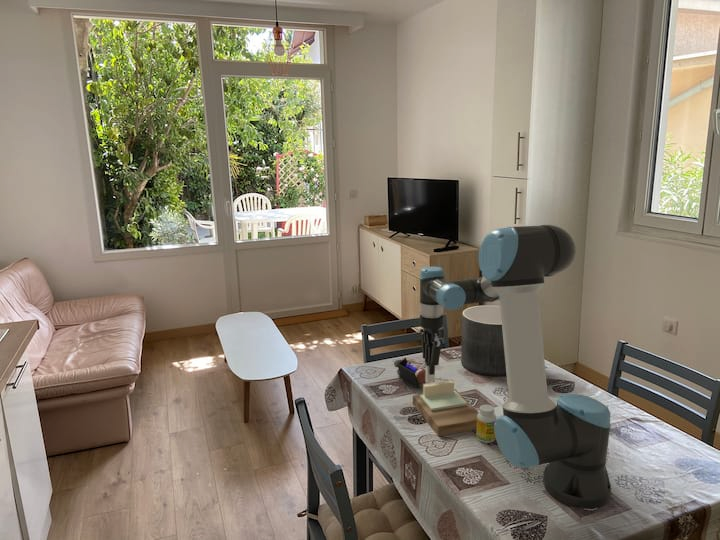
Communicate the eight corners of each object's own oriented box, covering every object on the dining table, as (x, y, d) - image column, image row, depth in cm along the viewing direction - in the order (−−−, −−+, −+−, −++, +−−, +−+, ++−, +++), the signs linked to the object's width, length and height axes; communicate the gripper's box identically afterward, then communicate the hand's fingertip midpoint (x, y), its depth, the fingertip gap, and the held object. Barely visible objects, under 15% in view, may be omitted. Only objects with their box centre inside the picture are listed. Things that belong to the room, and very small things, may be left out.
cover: (467, 405, 159) (467, 392, 158) (431, 411, 156) (431, 398, 155) (454, 392, 167) (454, 380, 166) (420, 397, 164) (420, 385, 163)
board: (484, 427, 152) (485, 418, 151) (438, 436, 148) (438, 426, 147) (454, 397, 171) (455, 388, 170) (412, 403, 167) (412, 395, 166)
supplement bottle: (485, 431, 150) (486, 401, 148) (499, 439, 146) (501, 408, 144) (472, 436, 147) (473, 406, 145) (486, 445, 143) (487, 414, 141)
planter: (510, 382, 181) (513, 328, 176) (451, 368, 193) (453, 317, 188) (527, 360, 199) (530, 311, 194) (473, 349, 211) (475, 302, 206)
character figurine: (405, 372, 190) (431, 388, 178) (389, 376, 187) (414, 392, 174) (407, 352, 189) (433, 367, 176) (391, 355, 185) (416, 371, 172)
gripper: (450, 319, 160) (448, 388, 166) (433, 307, 172) (432, 372, 178) (428, 322, 158) (427, 392, 164) (413, 309, 170) (412, 375, 176)
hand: (430, 381), depth 171 cm, fingers closed
